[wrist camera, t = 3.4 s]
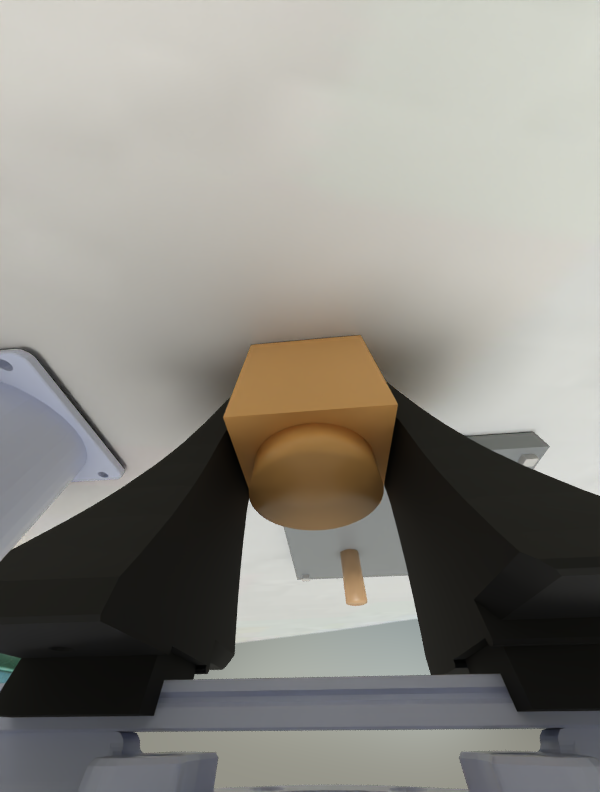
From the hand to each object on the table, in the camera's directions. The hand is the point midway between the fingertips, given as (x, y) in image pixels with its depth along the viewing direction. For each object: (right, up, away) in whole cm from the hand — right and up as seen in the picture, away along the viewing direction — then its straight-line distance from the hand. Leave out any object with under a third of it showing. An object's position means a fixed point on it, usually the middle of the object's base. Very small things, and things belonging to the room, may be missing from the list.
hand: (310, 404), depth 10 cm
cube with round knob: (0, +1, +1) cm, 1 cm away
